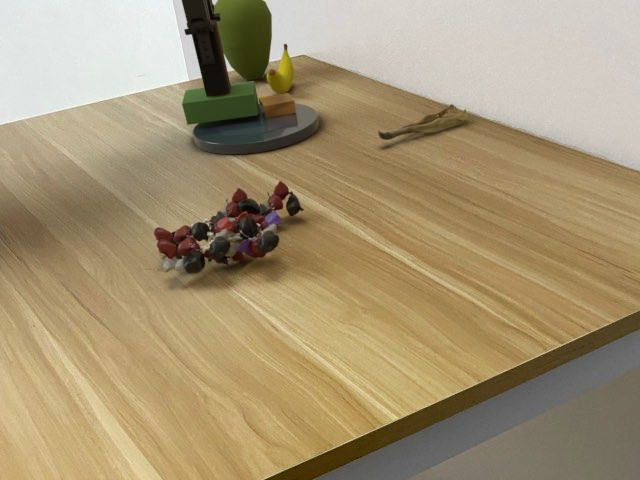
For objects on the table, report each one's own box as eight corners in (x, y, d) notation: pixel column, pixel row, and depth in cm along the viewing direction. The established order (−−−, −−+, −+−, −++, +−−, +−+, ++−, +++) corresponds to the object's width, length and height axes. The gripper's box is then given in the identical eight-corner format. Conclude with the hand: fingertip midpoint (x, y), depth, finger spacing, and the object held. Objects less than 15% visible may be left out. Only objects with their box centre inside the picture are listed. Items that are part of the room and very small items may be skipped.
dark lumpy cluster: (316, 266, 71) (305, 211, 69) (156, 295, 71) (138, 241, 68) (305, 221, 83) (296, 173, 81) (168, 246, 83) (154, 198, 80)
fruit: (285, 81, 119) (278, 43, 116) (298, 80, 119) (292, 42, 116) (269, 103, 112) (261, 62, 109) (283, 102, 112) (276, 61, 108)
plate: (190, 161, 97) (187, 150, 96) (199, 121, 109) (196, 111, 108) (321, 144, 98) (320, 133, 97) (316, 105, 109) (315, 95, 108)
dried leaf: (384, 133, 92) (385, 151, 94) (472, 105, 97) (472, 122, 99) (364, 124, 95) (366, 141, 96) (451, 96, 100) (452, 114, 101)
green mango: (213, 86, 121) (193, -5, 113) (246, 70, 126) (228, -18, 118) (260, 89, 118) (242, -5, 110) (292, 72, 123) (277, -18, 115)
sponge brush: (187, 125, 102) (163, 34, 95) (190, 111, 106) (168, 23, 99) (257, 115, 102) (239, 23, 95) (258, 101, 106) (240, 13, 99)
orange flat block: (265, 118, 103) (263, 105, 102) (260, 110, 106) (258, 97, 105) (296, 113, 103) (294, 100, 102) (290, 104, 106) (288, 92, 105)
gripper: (191, -157, 80) (245, 101, 96) (201, -164, 92) (248, 67, 108) (116, -147, 80) (183, 110, 96) (135, -156, 91) (192, 75, 108)
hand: (217, 87), depth 102 cm, fingers closed on sponge brush, 3 cm apart
